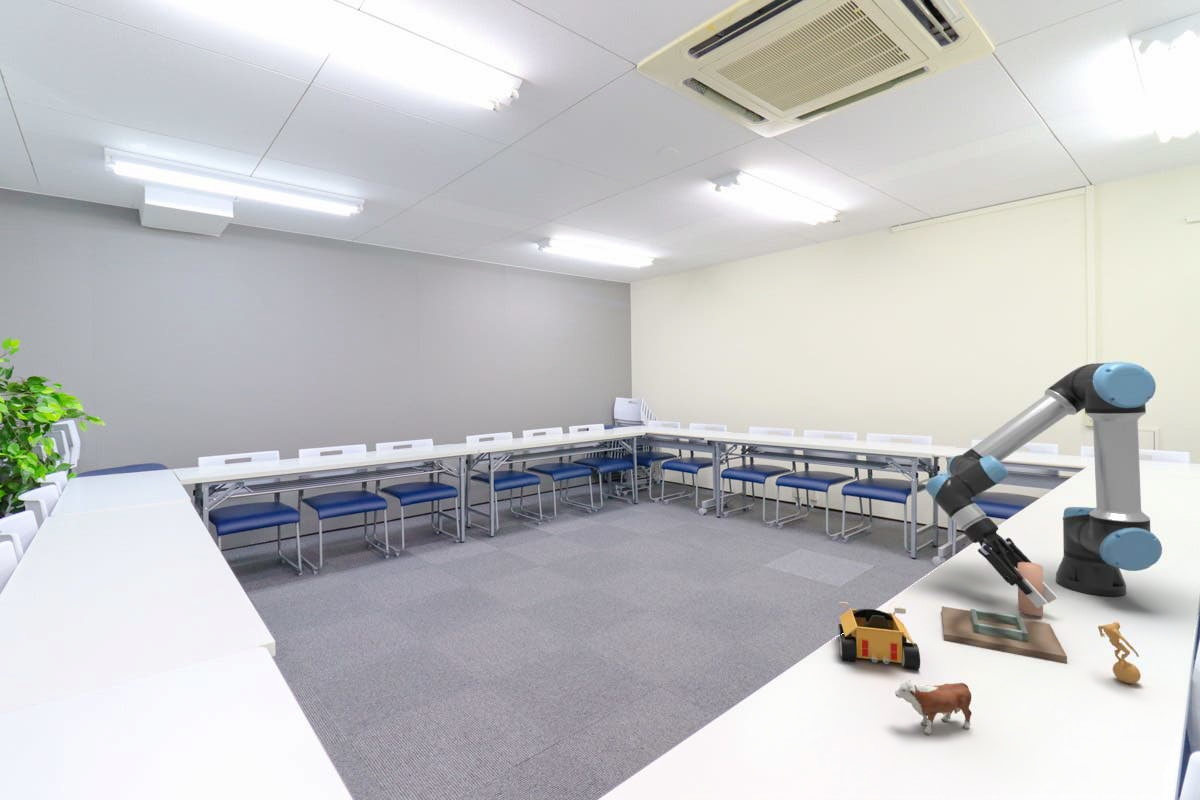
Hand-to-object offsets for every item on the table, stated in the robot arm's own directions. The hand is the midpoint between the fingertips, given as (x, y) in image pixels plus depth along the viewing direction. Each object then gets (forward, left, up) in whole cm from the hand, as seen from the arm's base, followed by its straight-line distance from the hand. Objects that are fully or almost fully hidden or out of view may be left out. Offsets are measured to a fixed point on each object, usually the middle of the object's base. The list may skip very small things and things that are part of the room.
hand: (1047, 602), depth 134 cm
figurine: (-7, +28, -5) cm, 29 cm away
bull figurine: (+25, +62, -5) cm, 67 cm away
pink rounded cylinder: (+3, -2, -3) cm, 5 cm away
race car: (+36, +39, -5) cm, 53 cm away
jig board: (+12, +15, -4) cm, 20 cm away
